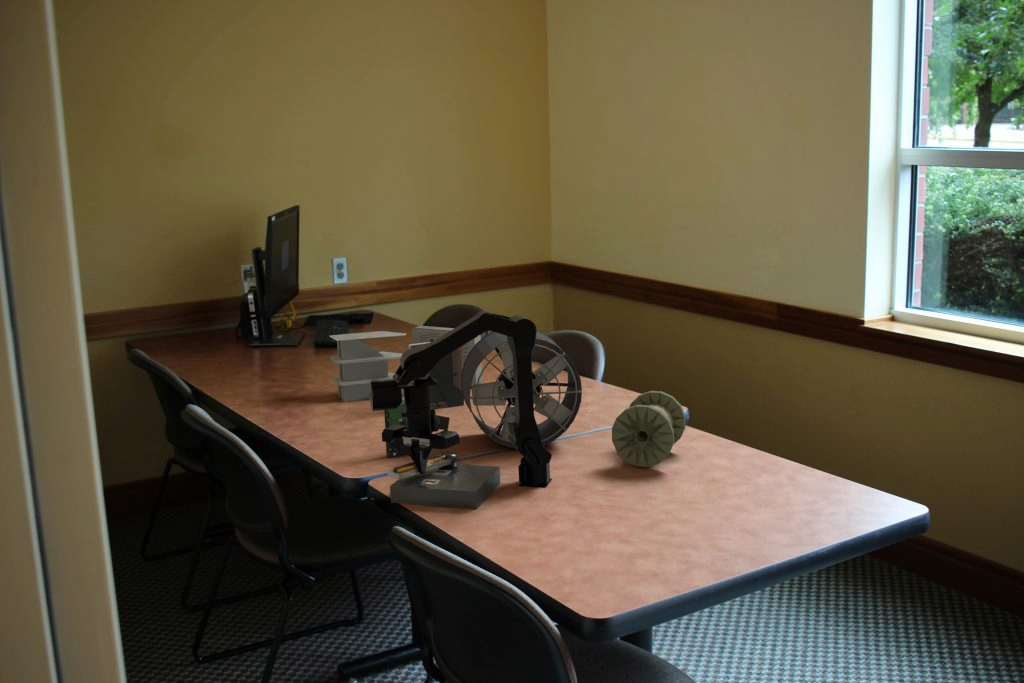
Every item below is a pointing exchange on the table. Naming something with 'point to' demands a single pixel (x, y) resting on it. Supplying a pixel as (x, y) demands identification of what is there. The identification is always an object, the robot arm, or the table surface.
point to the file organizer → (361, 364)
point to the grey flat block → (448, 487)
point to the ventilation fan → (503, 390)
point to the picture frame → (446, 381)
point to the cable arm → (440, 460)
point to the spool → (648, 428)
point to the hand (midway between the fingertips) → (422, 473)
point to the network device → (433, 333)
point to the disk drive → (393, 419)
